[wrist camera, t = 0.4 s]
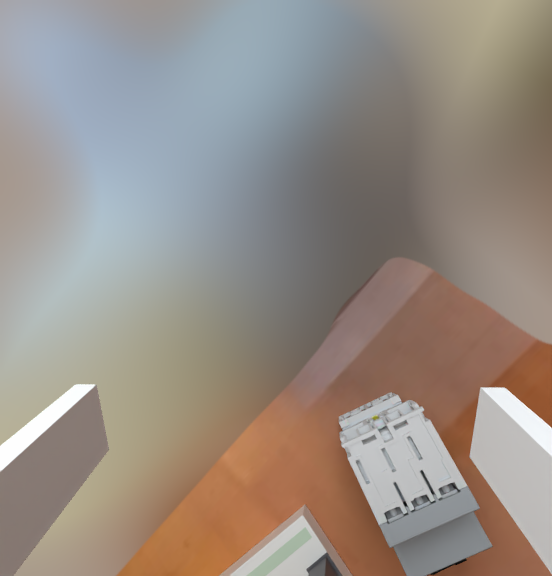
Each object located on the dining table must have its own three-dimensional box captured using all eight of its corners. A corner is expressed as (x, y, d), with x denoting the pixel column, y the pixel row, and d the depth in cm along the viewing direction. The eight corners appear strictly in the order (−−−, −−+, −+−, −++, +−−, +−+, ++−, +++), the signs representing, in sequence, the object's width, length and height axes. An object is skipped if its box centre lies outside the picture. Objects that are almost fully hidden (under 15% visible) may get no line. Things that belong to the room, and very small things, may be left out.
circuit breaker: (396, 537, 36) (435, 644, 22) (338, 416, 41) (339, 441, 26) (455, 511, 36) (534, 603, 22) (390, 392, 40) (421, 404, 26)
